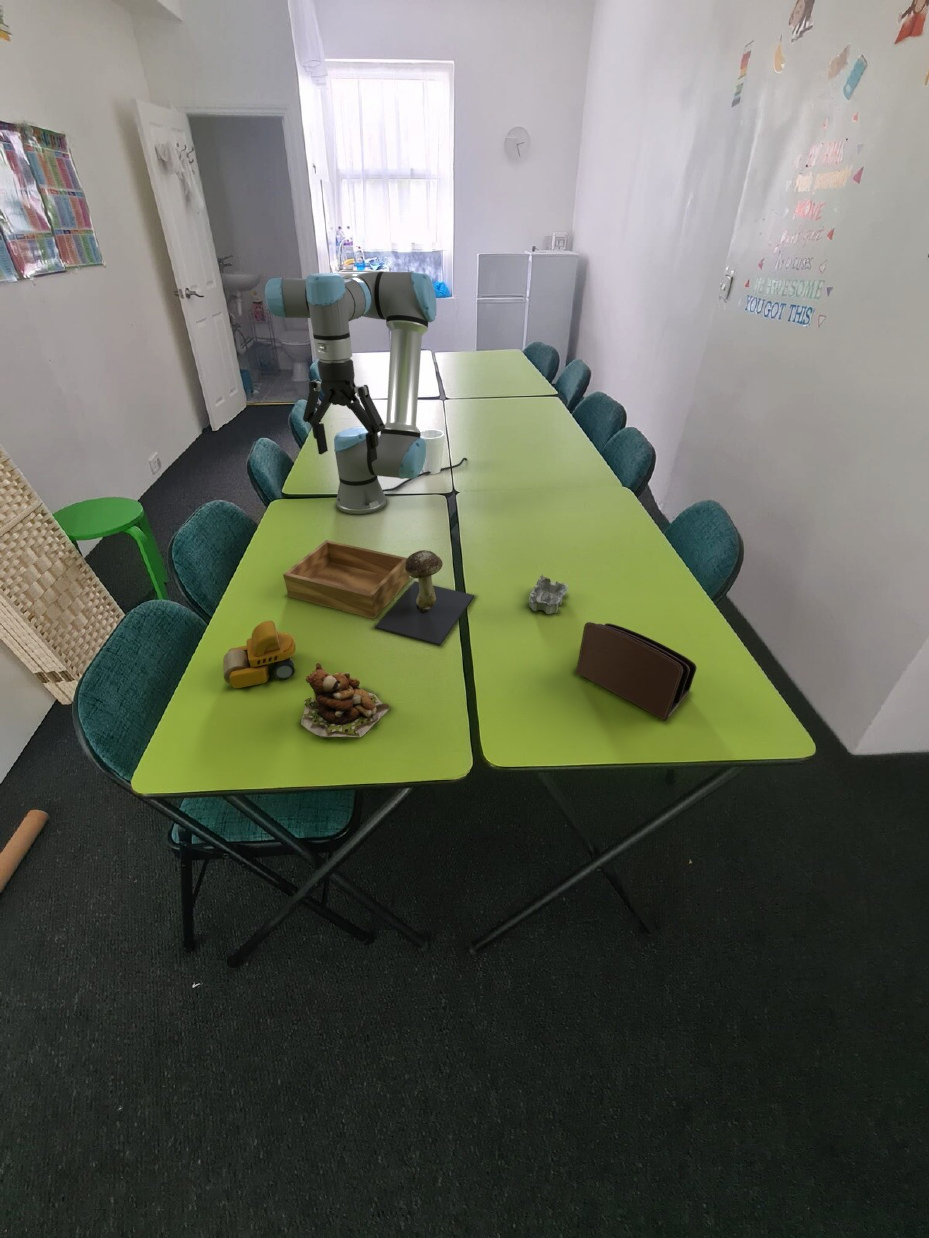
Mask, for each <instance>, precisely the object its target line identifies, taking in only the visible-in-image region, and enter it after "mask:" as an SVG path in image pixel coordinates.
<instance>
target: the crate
mask: <svg viewBox="0 0 929 1238" xmlns="http://www.w3.org/2000/svg"><path fill="white" fill-rule="evenodd" d="M407 558H408V557H406V556H400V555H396V554H391V553H387V552H382V551H378V550H373V549H369V548H365V547H359V546H355V545H350V544H346V543H341V542H337V541H332V540H329V539H326V540H324V541H323V542H322V543H320V544H319V545H317V546H316V547H315V548H314V549H313V550H312V551H311V552H309V553H308V554H307V555H306V556H304V557H303V558H302V559H300V560H299V561H298V562H296V563H295V564H294V565H293V566H292V567H290V568H289V569H288V570H287V571H286V572H284V573H283V574H282V575H283V580H284V584H285V588H286V589H285V590H286V593H287V597H290V598H293V599H297V600H300V601H305V602H308V603H312V604H316V605H320V606H322V607H326V608H327V607H328V608H330V609H331V608H332V609H335V610H339V611H343V612H345V613H350V614H353V615H358V616H361V617H364V618H369V619H372V620H374V619H376V618H377V617H378V615H379V614H380V613H381V612H382V611H383V610H384V609H385V608H386V606H387V605H389V603H391V601H392V600H393V599H394V597H396V595H397V594H398V593H399V592H400V591H401V590H402V589H403V588H404V587H405V586H406V584H407V583H408V582H409V581H411V576H409V575H408V574H407V572H406V570H405V563H406V560H407Z"/></svg>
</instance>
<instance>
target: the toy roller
mask: <svg viewBox="0 0 929 1238" xmlns="http://www.w3.org/2000/svg"><path fill="white" fill-rule="evenodd" d="M296 650H297V646H296V641H295V639H294V637H293V635H291V634H289V633H285V632H282V631H277V627H276V623H275V621H273V620H270V619H269V620H265V621H261V622H260V623H259V624H257V625H256V626H255V627H254V629H253V630H252V633H251V637H249V638H248V639H246V645H240V646H236V647H231V648H229V649H228V651H227V652H226V653H225V654H224V656H223V659H222V664H223V679H224V682H225V683H227V684H228V685H230V686H231V687H232V688H234V689H241V688H242V689H243V688H248V687H253V686H257V685H263V684H265V683H267V682H268V681H269V679H270V677H271V676H270V670H269V665H270V664H272V665H273V668H272V671H273V676H274V677H275V678H276V679H278V680H281V681H284V680H288V679H290V678H292V677H293V676H294V675H295V673H296V670H295V665H294V662H293V660H292V658H291V657H292V656H293V655H294V654H295V652H296Z"/></svg>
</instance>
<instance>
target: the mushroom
mask: <svg viewBox="0 0 929 1238" xmlns="http://www.w3.org/2000/svg"><path fill="white" fill-rule="evenodd" d="M406 558H407V560H406V563H405V570H406V572H407V574H408V575H409V576H410V578H413V579H417V580H418V581H417V582H419V594H418V596H417V599H416V605H417V606H416V608H417V609H416V610H419V611H420V612H426V611H429V609H430V608H431V607H432V606H433V605H434V604H435V601H436V596H435V595H436V594H435V592H434V588H433V586H434V584H433V580H432V577H433V576H434V575H436V574H437V573H439V571H441V570H442V568H443V565H444V564H443V560H442V558H441V557H440V556H438V555H437V554H436V553H434V552H433V551H431V550H425V549H424V550H423V549H422V550H418V551H416V552H413V553H411V554H410V555H409V556H408V557H406Z"/></svg>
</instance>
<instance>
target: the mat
mask: <svg viewBox="0 0 929 1238" xmlns="http://www.w3.org/2000/svg"><path fill="white" fill-rule="evenodd" d="M433 588H434V592H435V594H436V595H435V596H436V601H435V604H434V605H433V606H432V607H431V608H430V609H429V611H426V612H420V611H419V610H416V609H417V608H416V606H417V605H416V599H417V596H418V594H419V581H416V580H415V581H413V583H412V584H411V585H410V586H409V587H408V589H407V590H406V591H405V592H404V593H403V594H402V595H401V597H400V598H399V599H398V600H397V601H396V602H395V603H394V604H393V606H392V607H391V608H390V609H389V610H388V611H387V612H386V614H385V615H383V617H382V618H381V619H380V620H379V621H378V622H377V623H376V624H375V626H374V629H377V630H379V631H383V632H385V633H386V632H387V633H390V634H394V635H398V636H402V637H405V638H409V639H412V640H416V641H420V642H423V643H428V644H431V645H434V646H439V647H440V646H441V645H442V643H443V642H444V641H445V639H446V638H447V637H448V635H449V633H450V632H451V631H452V629H453V628H454V626H455V625H456V624H457V623H458V621H459V620H460V618H461V616H462V615H463V614H464V613H465V611H466V609H467V608H468V607H469V605H470V604H471V602H472V601H473V600H474V598H475V595H474V594H470V593H467V592H462V591H459V590H455V589H449V588H446V587H442V586H437V585H433Z"/></svg>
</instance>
